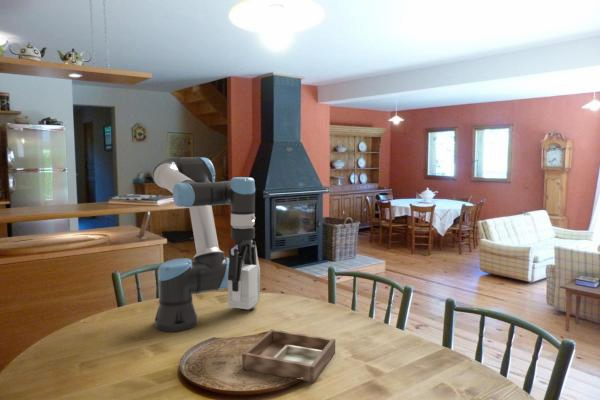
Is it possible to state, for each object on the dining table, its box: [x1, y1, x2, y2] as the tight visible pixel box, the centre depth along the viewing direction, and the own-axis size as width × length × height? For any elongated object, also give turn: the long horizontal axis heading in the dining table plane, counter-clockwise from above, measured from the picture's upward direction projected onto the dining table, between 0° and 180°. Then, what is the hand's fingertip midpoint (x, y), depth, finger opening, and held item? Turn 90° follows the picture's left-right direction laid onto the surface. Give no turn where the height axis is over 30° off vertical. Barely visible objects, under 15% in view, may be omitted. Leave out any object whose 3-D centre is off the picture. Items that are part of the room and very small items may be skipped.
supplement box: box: [227, 264, 259, 310], centre depth 146 cm, size 7×7×13 cm
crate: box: [241, 329, 336, 384], centre depth 137 cm, size 22×20×4 cm
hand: (242, 296), depth 146 cm, fingers closed on supplement box, 7 cm apart
